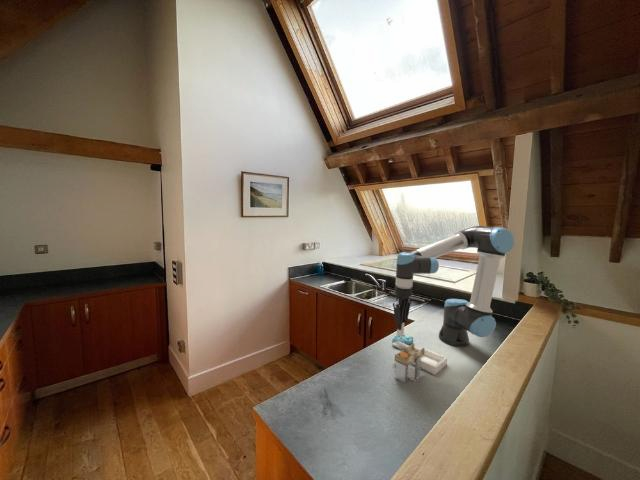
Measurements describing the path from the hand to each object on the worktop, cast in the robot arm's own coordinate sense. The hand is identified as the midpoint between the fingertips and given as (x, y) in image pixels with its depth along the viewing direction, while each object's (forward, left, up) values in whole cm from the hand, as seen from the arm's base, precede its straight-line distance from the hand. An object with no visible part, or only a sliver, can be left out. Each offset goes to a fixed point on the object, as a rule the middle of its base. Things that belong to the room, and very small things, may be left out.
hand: (400, 335), depth 123 cm
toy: (-17, -9, -13) cm, 24 cm away
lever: (+5, +4, -5) cm, 8 cm away
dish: (-9, +10, -13) cm, 19 cm away
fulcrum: (+7, +8, -13) cm, 17 cm away
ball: (+10, +8, -3) cm, 13 cm away
